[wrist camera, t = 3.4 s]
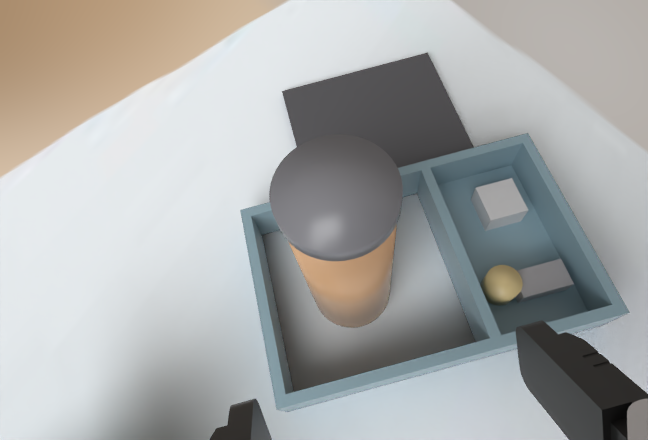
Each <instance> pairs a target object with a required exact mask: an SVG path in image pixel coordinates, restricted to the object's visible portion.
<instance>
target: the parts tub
mask: <svg viewBox="0 0 648 440" xmlns="http://www.w3.org/2000/svg"><path fill="white" fill-rule="evenodd" d="M398 170H399V172H400V175H401V179H402V185H403V196H402V197H405V196H409V195H412V194H416V193H417V194H418V197H419V199H420V202H421V204H422V207H423V209H424V212H425V214H426V217H427V219H428V222H429V225H430V227H431V230H432V232H433V235H434V237H435V240H436V242H437V245H438V247H439V250H440V252H441V255H442V257H443V260H444V262H445V265H446V267H447V270H448V273H449V275H450V278H451V280H452V283H453V285H454V288H455V290H456V293H457V295H458V298H459V300H460V303H461V305H462V308H463V310H464V313H465V316H466V318H467V321H468V323H469V326H470V328H471V331H472V333H473V336H474V338H475V341H476V342H474V343H471V344H467V345H464V346H460V347H456V348H453V349H449V350H445V351H442V352H438V353H434V354H431V355H427V356H423V357H420V358H416V359H412V360H409V361H405V362H402V363H398V364H394V365H391V366H387V367H383V368H380V369H376V370H372V371H369V372H365V373H361V374H358V375H354V376H351V377H347V378H343V379H340V380H336V381H332V382H329V383H325V384H321V385H318V386H314V387H310V388H307V389H303V390H299V391H296V392H294V391H293V386H292V381H291V376H290V371H289V366H288V362H287V357H286V352H285V347H284V342H283V337H282V332H281V327H280V322H279V317H278V312H277V307H276V302H275V297H274V292H273V287H272V282H271V277H270V272H269V267H268V262H267V257H266V252H265V247H264V242H263V237H262V235H263V234H267V233H271V232H275V231H278V230H280V228H279V226H278V224H277V222H276V220H275V218H274V215H273V213H272V209H271V206H270V202H269V203H265V204H261V205H258V206H254V207H250V208H246V209H243V210H240V211H241V216H242V222H243V227H244V233H245V238H246V244H247V249H248V255H249V260H250V266H251V271H252V277H253V282H254V288H255V293H256V299H257V304H258V310H259V315H260V321H261V326H262V332H263V337H264V343H265V348H266V354H267V359H268V365H269V370H270V375H271V381H272V386H273V392H274V397H275V403H276V408H277V410H281V411H285V412H289V411H292V410H296V409H300V408H303V407H307V406H310V405H314V404H318V403H321V402H325V401H329V400H332V399H336V398H340V397H343V396H347V395H350V394H354V393H358V392H361V391H365V390H369V389H372V388H376V387H380V386H383V385H387V384H390V383H394V382H398V381H401V380H405V379H409V378H412V377H416V376H420V375H423V374H427V373H430V372H434V371H438V370H441V369H445V368H449V367H452V366H456V365H460V364H463V363H467V362H471V361H474V360H478V359H481V358H485V357H489V356H492V355H496V354H500V353H503V352H507V351H511V350H514V349H517V341H516V328H517V327H519V326H522V325H526V324H530V323H533V322H537V321H541V320H542V321H544V322H545V323H547V324H548V325H549V326H550V327H551V328H552V329H553V330H554V331H555V332H556V333H558V334H561V333H565V332H567V333H569V334H572V333H576V332H580V331H583V330H587V329H591V328H594V327H598V326H602V325H604V324H606V323H609V322H611V321H613V320H615V319H617V318H619V317H621V316H623V315H625V314H628V313H630V312H629V311H628V309H627V307H626V305H625V304H624V302H623V300H622V298H621V297H620V295H619V293H618V291H617V289H616V288H615V286H614V284H613V282H612V281H611V279H610V277H609V275H608V274H607V272H606V270H605V268H604V267H603V265H602V263H601V261H600V260H599V258H598V256H597V254H596V252H595V251H594V249H593V247H592V245H591V244H590V242H589V240H588V238H587V237H586V235H585V233H584V231H583V230H582V228H581V226H580V224H579V222H578V221H577V219H576V217H575V215H574V214H573V212H572V210H571V208H570V207H569V205H568V203H567V201H566V200H565V198H564V196H563V194H562V192H561V191H560V189H559V187H558V185H557V184H556V182H555V180H554V178H553V177H552V175H551V173H550V171H549V170H548V168H547V166H546V164H545V163H544V161H543V159H542V157H541V155H540V154H539V152H538V150H537V148H536V147H535V145H534V143H533V141H532V140H531V138H530V136H529V134H528V133H526V134H523V135H519V136H515V137H512V138H508V139H504V140H500V141H497V142H493V143H489V144H485V145H482V146H478V147H474V148H470V149H467V150H463V151H459V152H456V153H452V154H448V155H444V156H441V157H437V158H433V159H429V160H426V161H422V162H418V163H414V164H411V165H407V166H403V167H400V168H398Z"/></svg>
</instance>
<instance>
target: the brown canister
mask: <svg viewBox="0 0 648 440" xmlns="http://www.w3.org/2000/svg"><path fill="white" fill-rule="evenodd" d="M402 196H403V185H402V179H401V175H400V172H399V170H398V168H397V166H396V164H395V162H394V161H393V159H392V158H391V157H390V156H389V155H388V154H387V153H386V152H385V151H384V150H383V149H382V148H380V147H379V146H377V145H376V144H374V143H372V142H370V141H368V140H366V139H363V138H360V137H356V136H352V135H327V136H322V137H318V138H315V139H312V140H310V141H307V142H305V143H303V144H302V145H300V146H298V147H297V148H295V149H294V150H293V151H291V152H290V153H289V154H288V155H287V156H286V157H285V158H284V159H283V161H282V162H281V163H280V165H279V166H278V168H277V169H276V171H275V173H274V176H273V178H272V182H271V186H270V206H271V209H272V213H273V215H274V218H275V220H276V222H277V224H278V226H279V228H280V230H281V232H282V234H283V235H284V237H285V238H286V239H287V241H288V242H289V244H290V246H291V249H292V251H293V253H294V255H295V257H296V260H297V262H298V264H299V266H300V269H301V271H302V273H303V275H304V277H305V280H306V282H307V284H308V286H309V288H310V291H311V293H312V295H313V297H314V299H315V302H316V304H317V306H318V308H319V310H320V311H321V313H322V314H323V315H324V316H325V317H326V318H327V319H328V320H330V321H331V322H333V323H335V324H337V325H340V326H343V327H360V326H364V325H367V324H369V323H371V322H372V321H374V320H375V319H376V318H378V317H379V316H380V314H381V313H382V312H383V311H384V309H385V307H386V305H387V303H388V299H389V293H390V284H391V274H392V265H393V255H394V246H395V236H396V227H397V222H398V219H399V216H400V212H401V205H402Z"/></svg>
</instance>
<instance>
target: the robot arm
mask: <svg viewBox="0 0 648 440" xmlns="http://www.w3.org/2000/svg"><path fill="white" fill-rule="evenodd" d="M516 341H517V349H518V357H519V365H520V371H521V375H522V377H523V380H524V382H525V384H526V386H527V387H528V389H529V390H530V392H531V393H532V394H533V395H534V397H535V398H536V399H537V400H538V402H539V403H540V404H541V405H542V407H543V408H544V409H545V410H546V411H547V413H548V414H549V415H550V416H551V418H552V419H553V420H554V421H555V423H556V424H557V425H558V426H559V428H560V429H561V430H562V431H563V433H564V434H565V435H566V436H567V437H568V439H569V440H648V394H647V393H646V392H645V391H643V390H642V389H641V388H640V387H639V386H638V385H636V384H635V383H634V382H633V381H632V380H631V379H629V378H628V377H627V376H626V375H625V374H624V373H622V372H621V371H620V370H619V369H618V368H617V367H615V366H614V365H613V364H612V363H611V364H610V363H609V361H608V360H607V359H606V358H605V357H604V356H602V355H601V354H599V353H598V351H597V350H595V349H594V348H593V347H592V346H591V345H590V344H588V343H587V342H586V341H585V340H583V339H581V338H578V337H576V336H574V335H572V334H569V333H567V332H565V333H561V334H558V333H556V332H555V331H554V330H553V329H552V328H551V327H550V326H549V325H548V324H547V323H545V322H544V321H542V320H541V321H537V322H533V323H530V324H526V325H522V326H519V327H517V328H516ZM210 440H272V439H271V436H270V433H269V431H268V428H267V425H266V422H265V420H264V417H263V414H262V411H261V409H260V406H259V403H258V401H257V400H256V399H253V400H249V401H246V402H242V403H238V404H235V405H232V406H231V407H230V411H229V418H228V425H227V426H224V427H220V428H217V429H216V430H215V432H214V433H213V435H212V437H211V438H210Z"/></svg>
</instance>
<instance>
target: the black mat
mask: <svg viewBox="0 0 648 440" xmlns="http://www.w3.org/2000/svg"><path fill="white" fill-rule="evenodd" d="M282 93H283V96H284V100H285V104H286V108H287V111H288V115H289V119H290V123H291V126H292V130H293V134H294V137H295V141H296V145H297V147H298V146H300V145H302V144H303V143H305V142H307V141H310V140H312V139H315V138H318V137H322V136H327V135H352V136H356V137H360V138H363V139H366V140H368V141H370V142H372V143H374V144H376V145H377V146H379V147H380V148H382V149H383V150H384V151H385V152H386V153H387V154H388V155H389V156H390V157H391V158H392V159H393V161H394V162H395V164H396V166H397V168H400V167H403V166H407V165H411V164H414V163H418V162H422V161H426V160H429V159H433V158H437V157H441V156H444V155H448V154H452V153H456V152H459V151H463V150H467V149H470V148H474V147H473V145H472V143H471V141H470V139H469V137H468V135H467V133H466V131H465V129H464V127H463V125H462V123H461V121H460V119H459V117H458V115H457V113H456V110H455V108H454V106H453V104H452V102H451V100H450V98H449V96H448V94H447V92H446V90H445V88H444V86H443V84H442V82H441V80H440V78H439V76H438V74H437V72H436V70H435V68H434V65H433V63H432V61H431V59H430V57H429V55H428V53H425V54H421V55H418V56H414V57H410V58H406V59H402V60H399V61H395V62H391V63H387V64H383V65H380V66H376V67H372V68H368V69H365V70H361V71H357V72H353V73H349V74H346V75H342V76H338V77H334V78H331V79H327V80H323V81H319V82H315V83H312V84H308V85H304V86H300V87H296V88H293V89H289V90H285V91H282Z"/></svg>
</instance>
